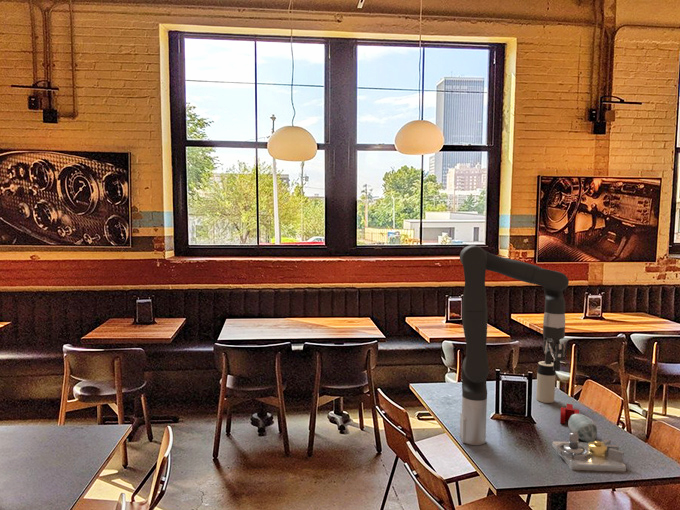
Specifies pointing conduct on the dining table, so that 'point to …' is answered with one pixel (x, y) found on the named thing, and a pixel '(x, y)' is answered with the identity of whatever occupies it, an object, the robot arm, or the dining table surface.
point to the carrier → (593, 456)
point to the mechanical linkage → (567, 413)
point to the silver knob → (573, 445)
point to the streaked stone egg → (583, 427)
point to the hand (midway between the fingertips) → (552, 367)
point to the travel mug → (545, 382)
